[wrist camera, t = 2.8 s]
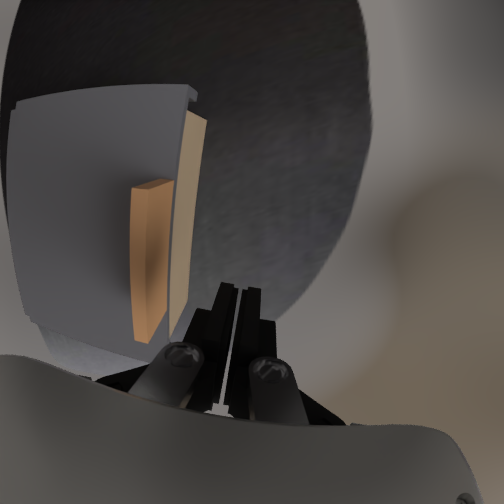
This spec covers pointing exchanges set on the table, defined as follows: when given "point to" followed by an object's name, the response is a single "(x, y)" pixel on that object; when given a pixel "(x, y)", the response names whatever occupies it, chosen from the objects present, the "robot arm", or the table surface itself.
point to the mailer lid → (97, 211)
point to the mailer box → (185, 214)
